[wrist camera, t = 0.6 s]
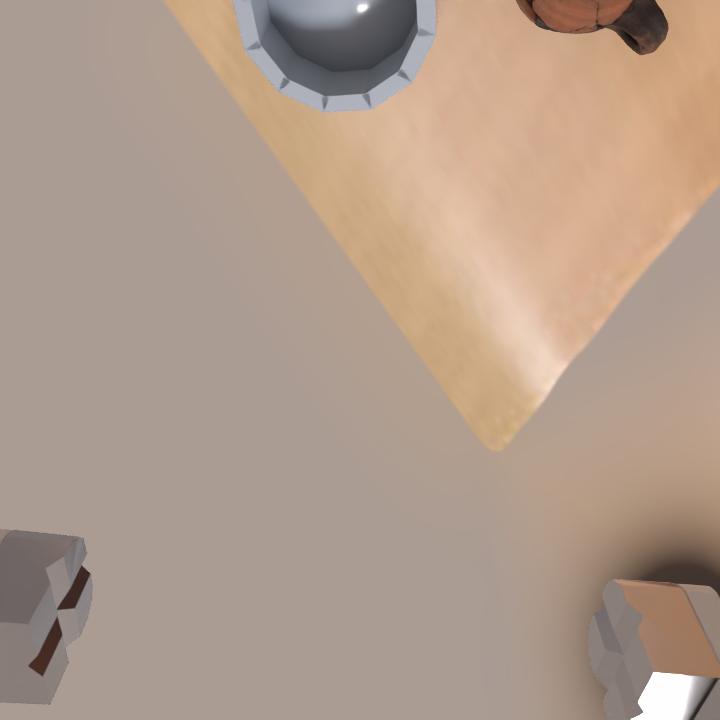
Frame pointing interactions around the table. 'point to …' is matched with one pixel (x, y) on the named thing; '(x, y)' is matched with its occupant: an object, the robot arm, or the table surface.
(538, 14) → the pottery mug
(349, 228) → the table surface
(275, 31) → the bowl
